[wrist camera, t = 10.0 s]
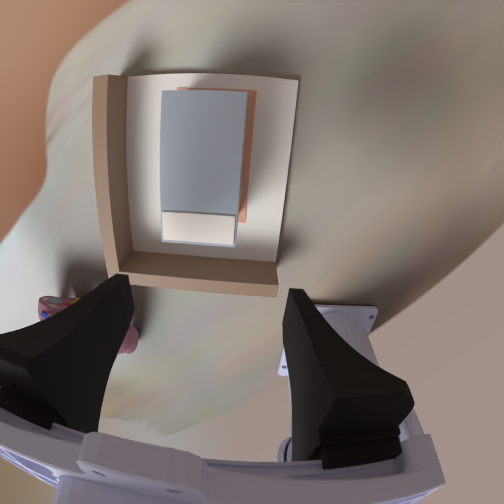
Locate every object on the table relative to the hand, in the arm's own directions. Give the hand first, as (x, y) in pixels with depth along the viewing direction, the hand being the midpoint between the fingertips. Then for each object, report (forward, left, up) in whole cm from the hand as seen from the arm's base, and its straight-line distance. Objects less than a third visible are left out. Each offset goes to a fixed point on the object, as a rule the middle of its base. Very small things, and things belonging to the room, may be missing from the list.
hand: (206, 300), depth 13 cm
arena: (+3, +2, -9) cm, 10 cm away
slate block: (+5, +1, -9) cm, 10 cm away
